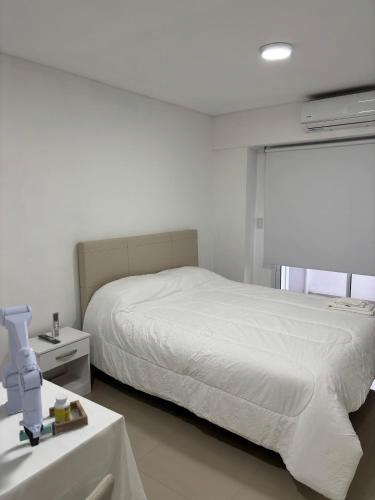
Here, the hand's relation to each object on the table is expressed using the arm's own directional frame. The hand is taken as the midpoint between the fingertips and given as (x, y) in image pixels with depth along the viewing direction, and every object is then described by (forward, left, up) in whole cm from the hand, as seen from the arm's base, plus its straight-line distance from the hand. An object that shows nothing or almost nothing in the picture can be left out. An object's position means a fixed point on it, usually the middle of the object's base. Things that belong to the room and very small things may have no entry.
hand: (34, 445), depth 122 cm
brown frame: (-11, +12, -2) cm, 16 cm away
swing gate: (-5, +1, 0) cm, 5 cm away
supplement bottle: (-11, +11, -2) cm, 16 cm away
